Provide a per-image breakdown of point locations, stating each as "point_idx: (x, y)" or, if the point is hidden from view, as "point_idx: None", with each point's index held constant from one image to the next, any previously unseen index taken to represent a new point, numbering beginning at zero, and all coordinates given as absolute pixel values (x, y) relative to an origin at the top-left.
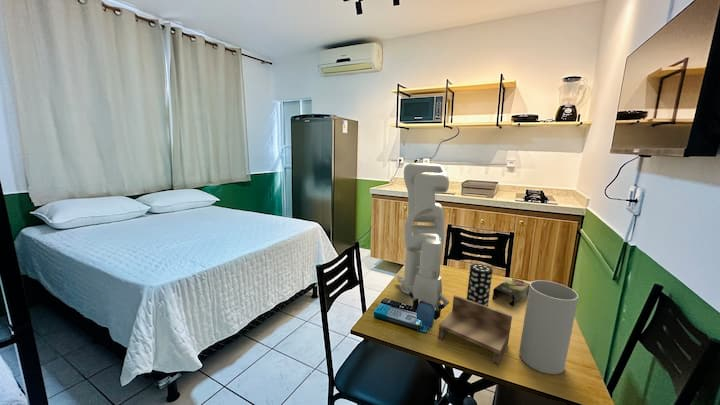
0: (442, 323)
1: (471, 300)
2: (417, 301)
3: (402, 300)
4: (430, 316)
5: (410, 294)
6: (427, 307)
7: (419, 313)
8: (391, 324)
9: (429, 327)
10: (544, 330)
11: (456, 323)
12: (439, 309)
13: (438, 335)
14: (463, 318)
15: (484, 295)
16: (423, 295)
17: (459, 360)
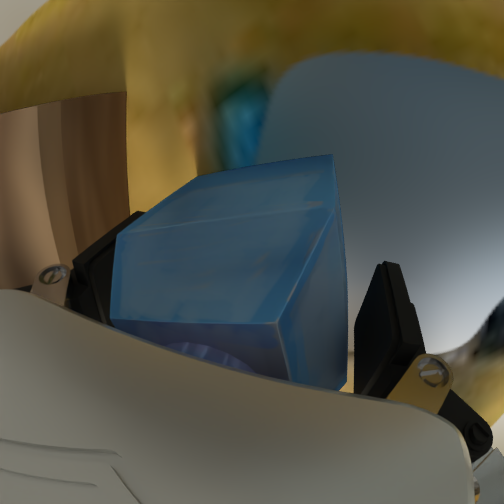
0: (30, 141)
1: None
2: (365, 376)
3: (461, 378)
4: (165, 211)
5: (478, 433)
6: (163, 280)
7: (293, 194)
8: (500, 71)
9: (216, 174)
10: None
11: (2, 211)
12: (37, 277)
13: (107, 93)
14: (17, 285)
15: None
16: (110, 498)
17: (25, 34)
